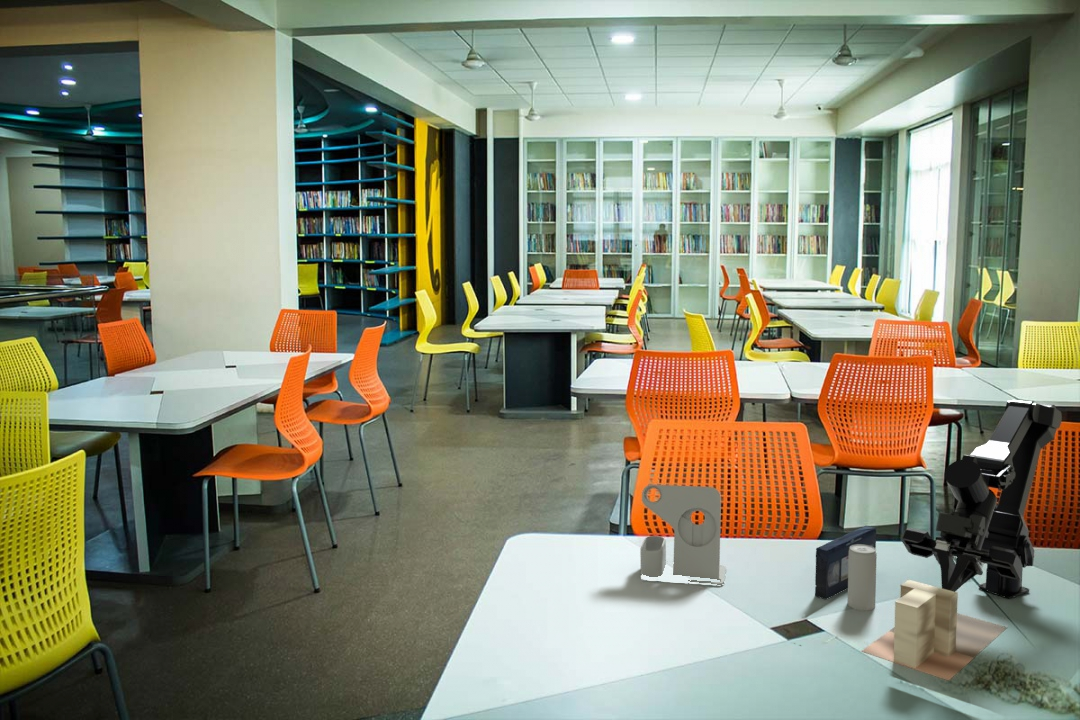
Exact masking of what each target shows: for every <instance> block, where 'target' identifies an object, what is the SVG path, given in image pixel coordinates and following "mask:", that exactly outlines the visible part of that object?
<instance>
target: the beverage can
mask: <svg viewBox="0 0 1080 720" xmlns="http://www.w3.org/2000/svg"><path fill="white" fill-rule="evenodd" d="M877 554H878V553H877V549H875V548H874V547H872V546H869V545H863V544H856V545H852V546H850V550H849V561H848V589H847V606H849V607H850V608H852V609H855V610H858V611H872V610H874V609H875V608H876V596H877V595H876V593H877V592H876V590H877V589H876V588H877V587H876V586H877V557H878V556H877Z"/></svg>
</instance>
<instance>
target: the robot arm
mask: <svg viewBox="0 0 1080 720" xmlns="http://www.w3.org/2000/svg"><path fill="white" fill-rule="evenodd" d="M1004 408H1005V409H1004V413H1003V415H1002V417H1001V419H999V422H998V423H997V425H996V427H995V428H994V431H993V432H992V433H991V436H990V437H989V439H988V440H987V441H986V443H984V444H982V445H978V446H977V447H975V448H974V449H973V450H972V451H971V453H970V454H968V455H967V454H963V455H962V457H961V459H959V460H956V461H955V460H954V461H953V462H952V463H950V464H949V465H948V466H947V467H945V470H944V475H943V476H944V479H945V482H946V484H947V485H948V486H949V489H950V491H951V493H952V495H953V496H954V498H955V499H956V500H957V505H956V508H955V511H952V512H950V513H945V512H938V516H937V522H936V526H935V531H937V532H940V534H939V536H940V537H941V539H944V540H940V539H936V540H935V539H933V538H932V537H931V535H930V533H929V531H926V530H923V529H917V528H913V527H908V528H906V529H905V530H903V531H902V534H901V537H900V541H901V542H902V544H903V546H904V547H905V549H906V550H907V552H908V554H909V553H910V554H911V555H912V556H918V557H921V558H926V559H928V558H929V557H932V556H934V558H935V560H936V561H937V563H938V565H939V566H940V576H941V579H940V582H941V588H942V589H946V590H950V591H954V592H957V591H958V590H959V589H960V588H961V587H962V586H963V585H964V584H965V583H967V582H968V581H970V580H971V579H973V578H974V577H976V576H978V575H979V576H983V574H984V571H983V569H984V568H983V567H984V565H985V564H986V569H985V570H986V572H985V582H983V583H981V584H978V588H979V589H982V590H984V591H988V592H990V593H992V594H995V595H998V596H1000V597H1004V598H1006V599H1013V598H1015V597H1019V596H1021V595H1023V594H1027V593H1030V588H1028V587H1025V586H1023V585H1022V584H1023V571H1024V570H1023V569H1025V568H1026V567H1033V566H1034V561H1035V560H1034V558H1035V549H1034V547H1033V544H1032V542H1031V539H1030V537H1029V534H1030V531H1029V529H1028V526H1027V523H1026V521H1025V518H1024V516H1025V512H1026V507H1027V503H1028V500H1029V495H1030V492H1031V489H1032V484H1033V481H1034V476H1035V474H1036V469H1037V465H1038V461H1039V459H1040V455H1041V451H1042V449H1043V448H1044V447H1046V446H1047V445H1048V444H1049V443H1051V442H1052V441H1053V440H1054V439H1055V436H1056V433H1057V430H1058V429H1060V428H1061V424H1062V420H1063V418H1062V416H1063V415H1062V412H1061V410H1059V409H1057V406H1056V405H1055V404H1049V403H1041V402H1034V401H1033V400H1032V401H1031V400H1022V399H1011V400H1007V402H1006V404H1005V407H1004ZM990 488H992V489H997V490H1001V491H1000V495H999V499H998V497H997V495H996V494H995V492H994V491H993V490H992V489H990ZM955 560H956V561H955Z"/></svg>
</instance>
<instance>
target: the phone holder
mask: <svg viewBox="0 0 1080 720" xmlns="http://www.w3.org/2000/svg"><path fill="white" fill-rule="evenodd" d="M652 489H655V490H657V491H658V493H659V498H658V499H657V500H656V501H652V500H649V498H648V492H649V491H650V490H652ZM641 502H642V504H643V505H644V506H645V507H646V508H648V510H650V511H651V512H652V513H653V514H655V515H656V516H657V517H659V518H660V519H661V520H662V521H664V522H665V523H667V524H668V525H669V526H670V527H672V529H673V531H674V534H673V535H674V536H673V562H674V564H673V575H682V576H690V577H700V578H710V579H717V580H720V582H711V581H697V580H691V581H690V580H688V581H690V582H699V583H711V584H717V585H722V584H724V585H725V583H724V581H725V582H726V576H725V574H726V575H727V567H726V566H725V565H723V564H721V563H720V562H721V558H720V557H721V556H720V555H721V517H722V516H721V512H722V511H721V509H722V495H721V493H720V491H719V490H718V489H717V488H715V487H713V486H700V485H699V486H698V485H697V486H696V485H676V484H675V485H674V484H673V485H672V484H654V483H653V484H648V485H646V486H645V487H644V488H643V490H642V492H641ZM698 511H699V512H701V513H702V514H703V515H704V521H702V523H700V524H695V522H693V520H692V515H693V513H694V512H698ZM666 543H667V541H666V539H665V537H662V536H661V535H660V536H659V535H651V536H646V537H645V538H644V539H643V542H642V544H641V546H640V552H639V553H640V555H639V556H640V574H641V573H642V574H643V575H646V576H649V577H658V576H661V575H662V574H663V571H664V568H665V565H666V562H667V556H666V555H667V554H666V553H667V546H666Z"/></svg>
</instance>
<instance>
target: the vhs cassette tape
mask: <svg viewBox="0 0 1080 720" xmlns="http://www.w3.org/2000/svg"><path fill="white" fill-rule="evenodd" d="M876 539H877V528H876V527H874V526H870V525H863V526H862V527H859V528H857V529H855V530H852V531H851V532H848V533H846V534H844V535H843V536H839V537H837V538H835V539H833V540H830V541H829V542H827V543H825V544H823V545H821V546H819V547H816V549H815V573H814V575H815V577H814V578H815V579H814V581H815V583H814V584H815V587H814V589H815V591H814V596H815V597H816V598H820V597H821V599H823V600H828V599H830V598H832V597H834V596H836V595H838V594H840V593H842V592H844V591H846V590H848V561H849V550H850V546H852V545H856V544H863V545H869V546H872V547H874V548H875V549H876V547H877V540H876ZM876 550H877V549H876ZM845 589H846V590H845ZM843 590H844V591H843ZM841 591H842V592H841ZM839 592H840V593H839ZM837 593H838V594H837ZM835 594H836V595H835ZM831 596H832V597H831ZM829 597H830V598H829ZM827 598H828V599H827Z"/></svg>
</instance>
